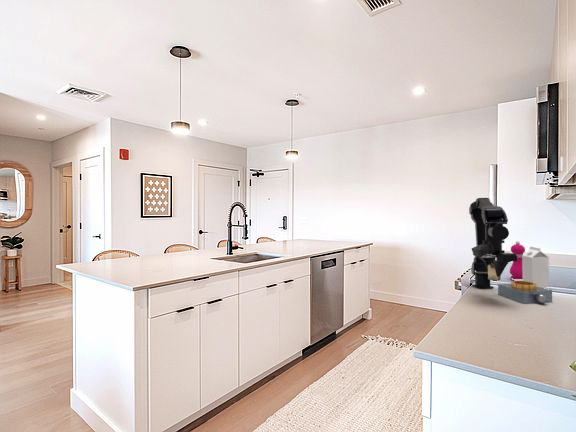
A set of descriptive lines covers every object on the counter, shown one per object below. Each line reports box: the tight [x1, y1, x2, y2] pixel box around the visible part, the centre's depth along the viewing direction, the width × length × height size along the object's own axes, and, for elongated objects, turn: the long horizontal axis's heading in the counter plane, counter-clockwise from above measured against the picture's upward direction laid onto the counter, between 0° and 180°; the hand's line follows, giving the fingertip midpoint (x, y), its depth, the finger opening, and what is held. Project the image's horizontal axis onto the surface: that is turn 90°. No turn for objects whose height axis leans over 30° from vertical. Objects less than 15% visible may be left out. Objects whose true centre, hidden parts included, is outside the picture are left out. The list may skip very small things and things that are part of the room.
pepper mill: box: [509, 240, 526, 279], centre depth 166 cm, size 7×7×20 cm
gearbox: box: [497, 280, 553, 305], centre depth 135 cm, size 17×12×6 cm
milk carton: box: [522, 246, 550, 288], centre depth 150 cm, size 7×7×19 cm
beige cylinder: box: [488, 263, 502, 281], centre depth 135 cm, size 4×4×7 cm
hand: (494, 275), depth 135 cm, fingers closed on beige cylinder, 4 cm apart
